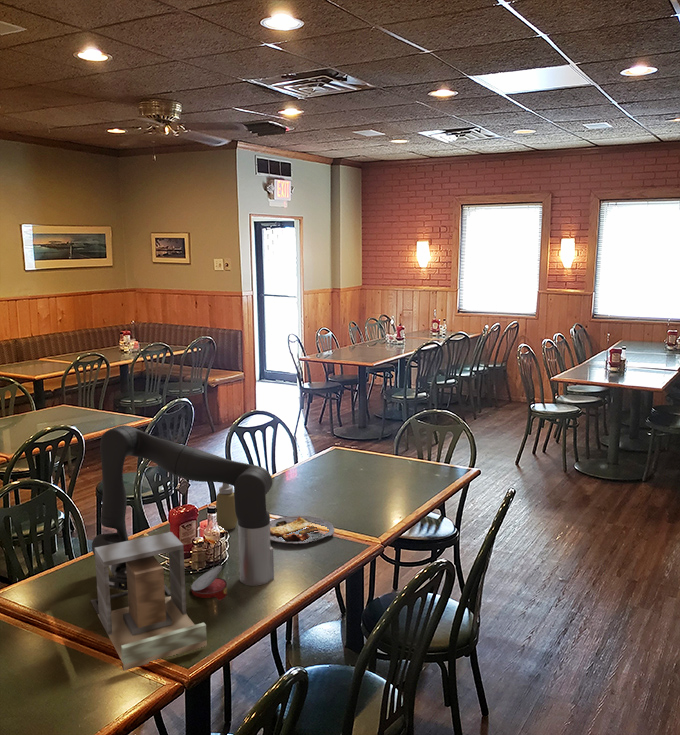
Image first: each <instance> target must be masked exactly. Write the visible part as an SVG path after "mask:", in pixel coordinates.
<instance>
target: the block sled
mask: <svg viewBox="0 0 680 735" xmlns="http://www.w3.org/2000/svg"><path fill="white" fill-rule="evenodd" d="M126 573H127V590H126V591H128V595H127V602H128V603H127V607H129V613H125V614H123V620H124V622H125V623H126V625H127V627H128V628H129V630H130V632H131V634H132V635H136V634H139V633H143V632H147V631H150V630H154V629H158V628H161V627H165V626H168V625H172V618H171V617H170V616H169V614H168V613H167V611H166V608H165V597H166V592H165V588H164V584H165V572H164V567H163V566H162V564H161V563H160V562H159V561H158V560H157V558H156V557H155V555H154V556H150V557H145V558H141V559H136V560H132V561H127V562H126Z"/></svg>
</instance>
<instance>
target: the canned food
mask: <svg viewBox="0 0 680 735" xmlns="http://www.w3.org/2000/svg"><path fill="white" fill-rule="evenodd" d="M222 569H223V565H219V566H218V565H217V566H216V567H214V568H212V569H209V570H208V571H206V572H204V573H203V574H201V576H199V577H197V579H196V580H194V581H193V583H192V584H191V586H190V587H191V594H192V595H193V596H195V597H197V598H202V599H203V598H204V599H208V598H209V599H211V598H216V599H217V601H219V602H220V601H222V600H223V599H225V598H226V597H227V596H228V582H227V581H226V580H225V579H224V578H221V577H218V575H219V573H221V571H222Z"/></svg>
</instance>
